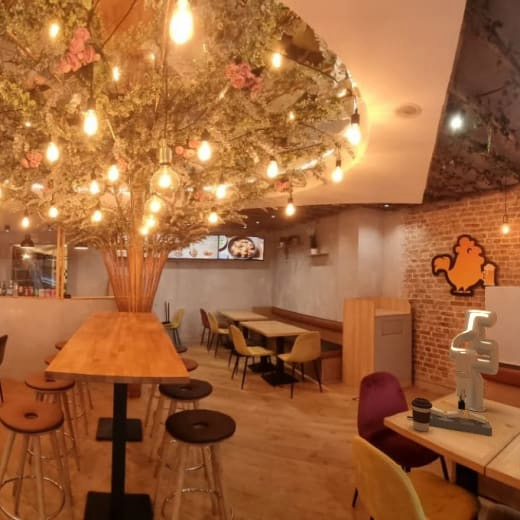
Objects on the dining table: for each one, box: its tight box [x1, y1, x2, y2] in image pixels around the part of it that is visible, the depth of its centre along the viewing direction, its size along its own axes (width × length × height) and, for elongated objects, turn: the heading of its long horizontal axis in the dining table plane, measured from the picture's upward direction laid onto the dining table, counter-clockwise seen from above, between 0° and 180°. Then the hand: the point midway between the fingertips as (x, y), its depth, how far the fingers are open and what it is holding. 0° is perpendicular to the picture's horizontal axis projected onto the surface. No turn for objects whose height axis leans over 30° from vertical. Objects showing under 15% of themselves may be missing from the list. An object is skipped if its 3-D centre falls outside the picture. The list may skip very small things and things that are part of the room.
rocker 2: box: [467, 410, 487, 424], centre depth 214 cm, size 5×8×2 cm, turn 69°
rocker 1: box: [431, 406, 445, 417], centre depth 221 cm, size 5×8×2 cm, turn 69°
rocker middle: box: [446, 409, 466, 418], centre depth 218 cm, size 5×8×2 cm, turn 69°
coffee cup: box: [411, 397, 433, 432], centre depth 211 cm, size 10×10×15 cm
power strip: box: [406, 413, 493, 437], centre depth 217 cm, size 10×40×5 cm, turn 69°
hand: (461, 409), depth 217 cm, fingers closed
